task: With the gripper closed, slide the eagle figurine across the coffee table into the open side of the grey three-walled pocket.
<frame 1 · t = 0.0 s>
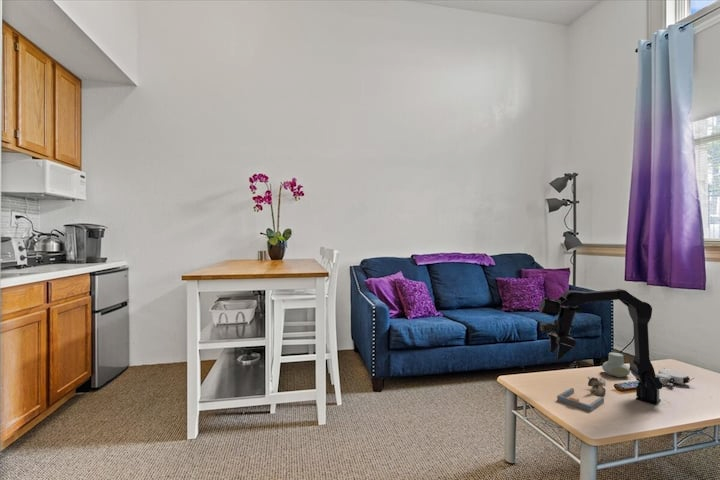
hand: (554, 355, 154), 15 cm above the table, tool pointing down, fingers open, 9 cm apart
robot toy: (668, 383, 165), on the table
pocket: (581, 401, 145), on the table
air freshener: (615, 375, 174), on the table
eagle figurine: (596, 392, 154), on the table
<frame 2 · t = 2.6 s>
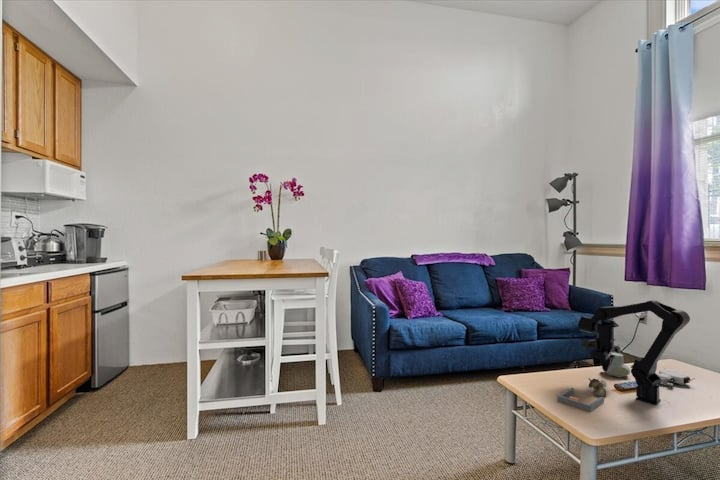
hand: (605, 371, 160), 7 cm above the table, tool pointing down, fingers closed
eagle figurine: (596, 394, 153), on the table
everything else where it was.
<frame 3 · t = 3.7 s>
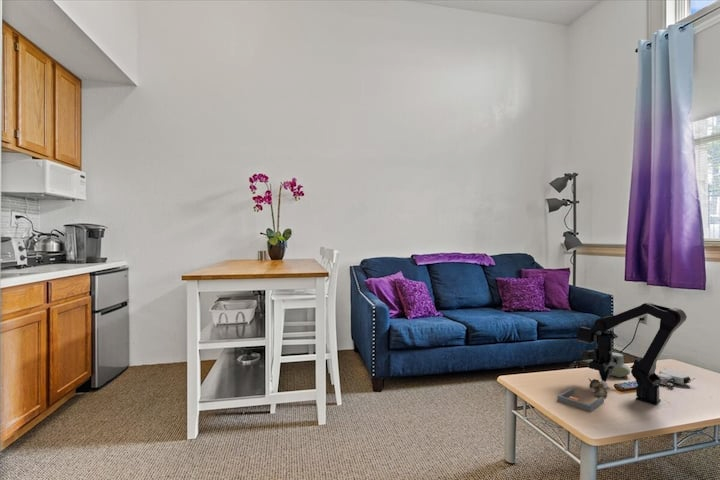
hand: (604, 382, 160), 2 cm above the table, tool pointing down, fingers closed
nothing on the table moved.
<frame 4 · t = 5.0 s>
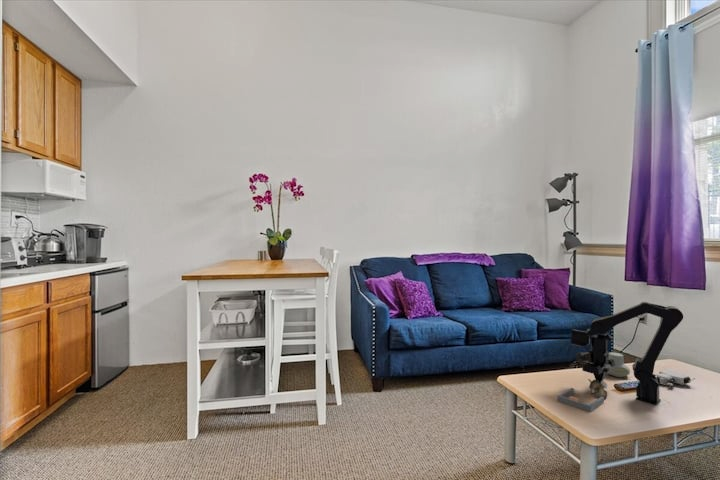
hand: (598, 385, 156), 2 cm above the table, tool pointing down, fingers closed
eagle figurine: (597, 395, 151), on the table, touching gripper
everything else where it was.
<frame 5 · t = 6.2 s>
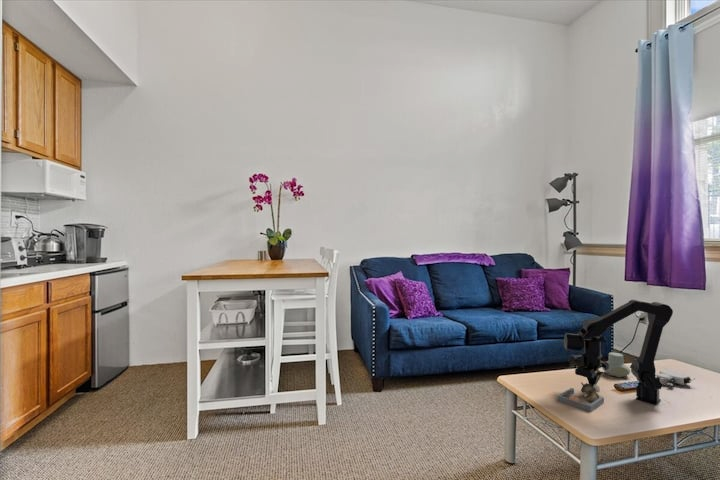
hand: (592, 388, 152), 2 cm above the table, tool pointing down, fingers closed
eagle figurine: (589, 399, 147), on the table, touching gripper, pocket
everything else where it was.
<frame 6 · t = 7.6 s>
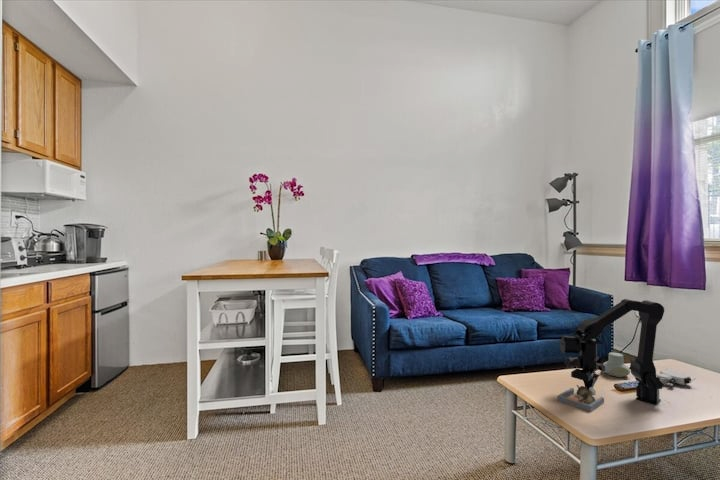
hand: (588, 391, 149), 2 cm above the table, tool pointing down, fingers closed
eagle figurine: (585, 402, 145), on the table, touching gripper
everything else where it was.
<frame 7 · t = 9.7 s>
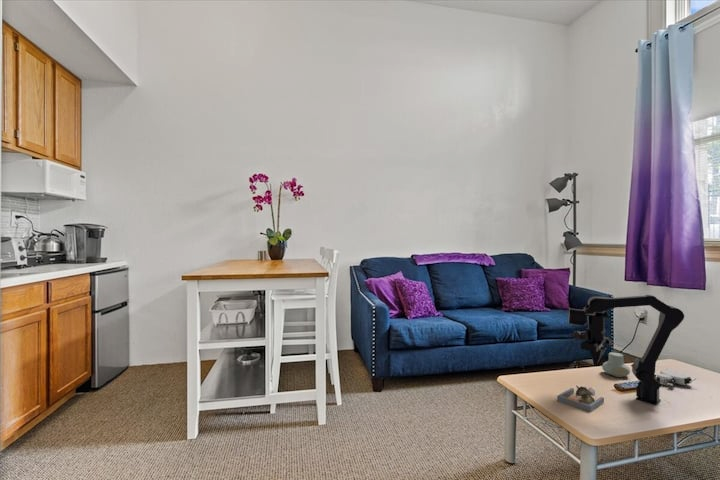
hand: (595, 363, 154), 12 cm above the table, tool pointing down, fingers closed
eagle figurine: (584, 402, 144), on the table
everything else where it was.
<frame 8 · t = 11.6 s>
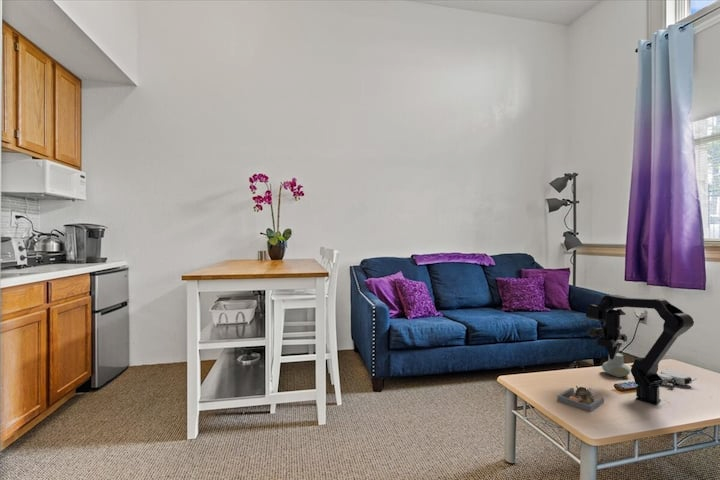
hand: (611, 359, 160), 12 cm above the table, tool pointing down, fingers closed
nothing on the table moved.
at the end: pocket 0.0 cm off-centre on the pocket, point 0.0 cm above the pocket's base; eagle figurine 1.2 cm off-centre on the pocket, point 0.0 cm above the pocket's base; eagle figurine tilted 1° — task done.
